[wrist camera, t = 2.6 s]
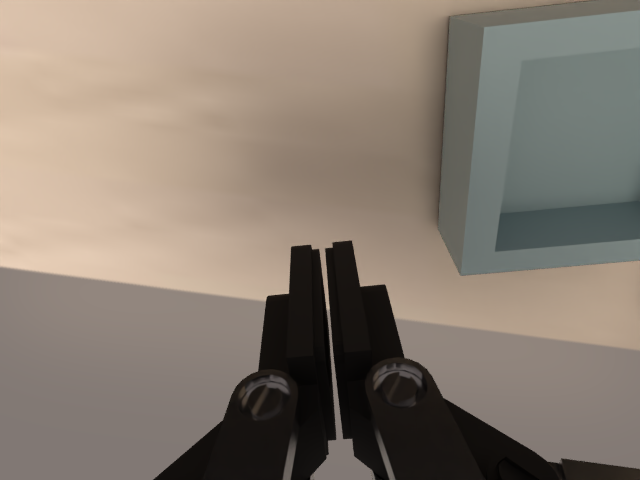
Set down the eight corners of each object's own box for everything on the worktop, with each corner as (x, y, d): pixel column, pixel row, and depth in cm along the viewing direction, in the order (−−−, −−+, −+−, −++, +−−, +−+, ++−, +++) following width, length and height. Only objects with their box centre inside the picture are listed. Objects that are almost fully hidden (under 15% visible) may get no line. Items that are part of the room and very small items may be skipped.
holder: (729, -15, 18) (839, -12, 15) (650, 209, 24) (713, 254, 20) (449, 16, 19) (484, 27, 15) (437, 229, 25) (460, 275, 21)
